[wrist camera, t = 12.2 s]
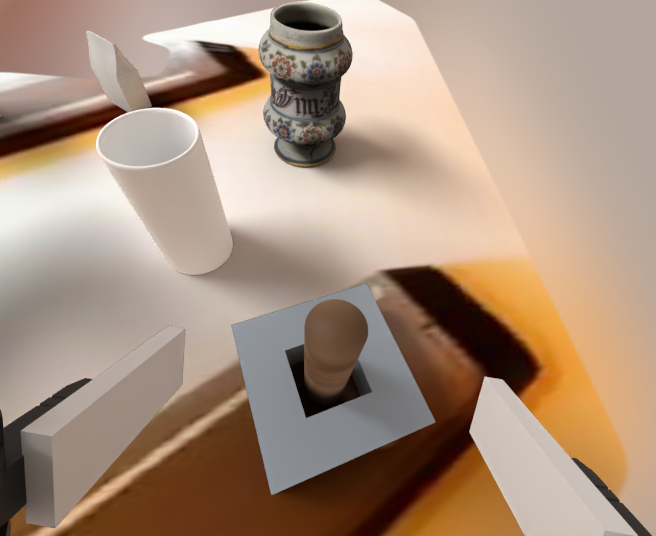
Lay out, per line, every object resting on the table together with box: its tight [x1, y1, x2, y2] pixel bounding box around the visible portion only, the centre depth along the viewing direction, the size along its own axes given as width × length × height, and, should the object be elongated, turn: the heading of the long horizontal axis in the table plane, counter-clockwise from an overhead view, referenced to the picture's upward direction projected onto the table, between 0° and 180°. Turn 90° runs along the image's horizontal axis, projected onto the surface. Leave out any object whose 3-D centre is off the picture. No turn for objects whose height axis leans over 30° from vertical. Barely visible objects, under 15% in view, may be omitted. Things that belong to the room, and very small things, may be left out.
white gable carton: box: [86, 31, 152, 112], centre depth 52 cm, size 4×7×10 cm, turn 54°
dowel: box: [304, 299, 368, 406], centre depth 27 cm, size 4×4×15 cm
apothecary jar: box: [259, 2, 352, 167], centre depth 45 cm, size 12×12×18 cm
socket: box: [231, 284, 436, 495], centre depth 31 cm, size 14×14×5 cm
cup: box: [96, 108, 233, 275], centre depth 34 cm, size 8×8×16 cm
